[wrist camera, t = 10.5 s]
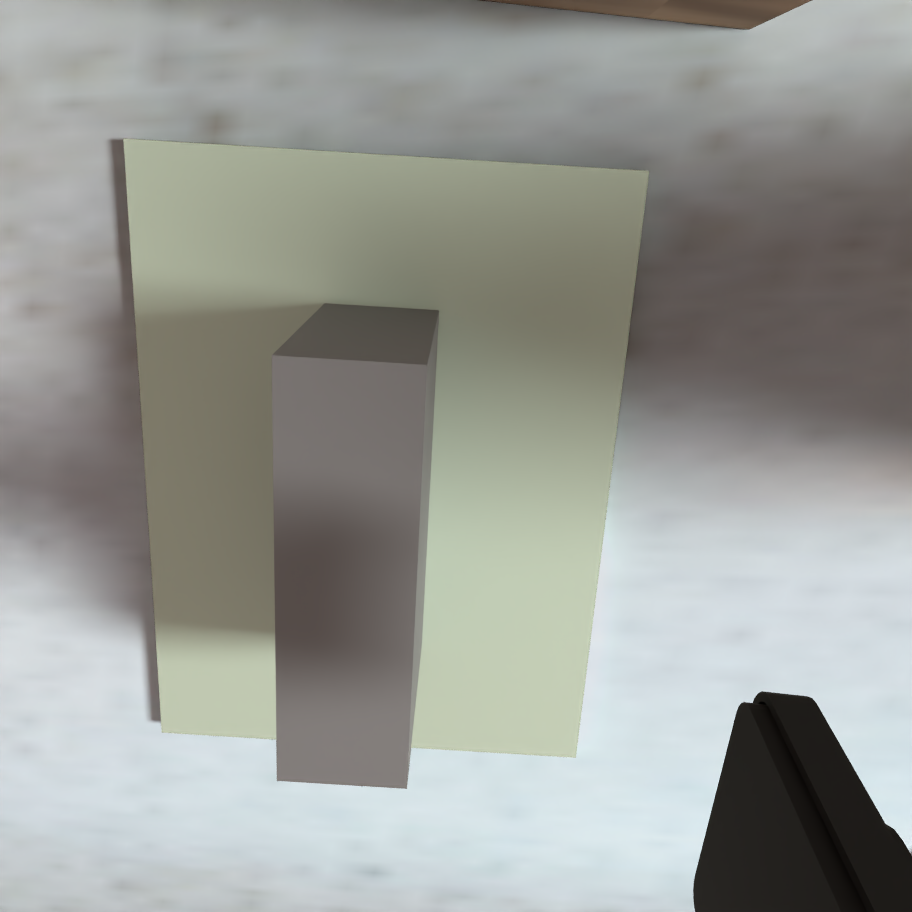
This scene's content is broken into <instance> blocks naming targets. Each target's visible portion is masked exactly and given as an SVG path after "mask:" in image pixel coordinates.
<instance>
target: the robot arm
mask: <svg viewBox="0 0 912 912" xmlns="http://www.w3.org/2000/svg"><path fill="white" fill-rule="evenodd" d="M693 892H694V907H695V912H912V856H911V854H910V852H909V850H908V849H907V847H906V845H905V844H904V842H903V840H902V839H901V838H900V836H899V835H898V834H897V832H896V831H895V830H894V829H893V828H891V827H890V826H888V825H886V824H885V822H884V821H883V819H882V817H881V815H880V814H879V812H878V810H877V808H876V807H875V805H874V803H873V801H872V800H871V798H870V796H869V794H868V793H867V791H866V789H865V787H864V786H863V784H862V782H861V780H860V779H859V777H858V775H857V773H856V772H855V770H854V768H853V766H852V765H851V763H850V761H849V759H848V758H847V756H846V754H845V752H844V751H843V749H842V747H841V745H840V744H839V742H838V740H837V739H836V737H835V735H834V733H833V732H832V730H831V728H830V726H829V725H828V723H827V721H826V719H825V718H824V716H823V714H822V712H821V711H820V709H819V707H818V705H817V704H816V702H815V701H814V700H813V699H812V698H810V697H807V696H798V695H789V694H780V693H771V692H760V693H758V694H757V696H756V697H755V698H754V701H753V703H746V702H743V703H741V704H740V706H739V707H738V710H737V713H736V717H735V720H734V724H733V728H732V732H731V736H730V740H729V744H728V748H727V752H726V756H725V760H724V764H723V768H722V772H721V776H720V780H719V783H718V787H717V791H716V795H715V799H714V803H713V807H712V811H711V815H710V819H709V823H708V827H707V831H706V835H705V839H704V842H703V846H702V850H701V854H700V858H699V862H698V866H697V870H696V874H695V879H694V889H693Z"/></svg>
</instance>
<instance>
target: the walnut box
mask: <svg viewBox="0 0 912 912" xmlns="http://www.w3.org/2000/svg"><path fill="white" fill-rule="evenodd" d="M482 1H491V2H501V3H510V4H519V5H528V6H537V7H547V8H556V9H565V10H574V11H583V12H593V13H602V14H611V15H620V16H629V17H639V18H648V19H657V20H666V21H675V22H685V23H694V24H703V25H712V26H721V27H731V28H740V29H751V28H753V27H756V26H758V25H760V24H762V23H764V22H766V21H768V20H771V19H773V18H775V17H777V16H779V15H781V14H784V13H786V12H788V11H790V10H792V9H794V8H796V7H799V6H801V5H803V4H805V3H807V2H809V1H811V0H482Z"/></svg>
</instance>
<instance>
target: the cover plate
mask: <svg viewBox="0 0 912 912" xmlns="http://www.w3.org/2000/svg"><path fill="white" fill-rule="evenodd" d="M123 141H124V157H125V172H126V188H127V203H128V219H129V234H130V250H131V265H132V280H133V296H134V311H135V327H136V342H137V358H138V373H139V388H140V404H141V419H142V435H143V450H144V466H145V481H146V497H147V512H148V527H149V543H150V558H151V574H152V589H153V605H154V620H155V635H156V651H157V666H158V682H159V697H160V713H161V728H162V733H178V734H194V735H211V736H227V737H244V738H260V739H276V747H277V781H289V782H306V783H322V784H339V785H355V786H372V787H388V788H405V789H407V782H408V772H409V763H410V753H411V748H425V749H441V750H458V751H474V752H491V753H507V754H524V755H540V756H557V757H573V758H576V751H577V743H578V735H579V727H580V719H581V711H582V703H583V695H584V687H585V679H586V671H587V663H588V655H589V647H590V639H591V631H592V624H593V616H594V608H595V600H596V592H597V584H598V576H599V568H600V560H601V552H602V544H603V536H604V528H605V520H606V512H607V504H608V496H609V488H610V480H611V472H612V464H613V456H614V448H615V440H616V432H617V424H618V416H619V408H620V400H621V392H622V385H623V377H624V369H625V361H626V353H627V345H628V337H629V329H630V321H631V313H632V305H633V297H634V289H635V281H636V273H637V265H638V257H639V249H640V241H641V233H642V225H643V217H644V209H645V201H646V193H647V185H648V177H649V171H642V170H626V169H610V168H594V167H577V166H561V165H545V164H529V163H513V162H496V161H480V160H464V159H448V158H432V157H415V156H399V155H383V154H367V153H350V152H334V151H318V150H302V149H286V148H269V147H253V146H237V145H221V144H205V143H188V142H172V141H156V140H140V139H123Z"/></svg>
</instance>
